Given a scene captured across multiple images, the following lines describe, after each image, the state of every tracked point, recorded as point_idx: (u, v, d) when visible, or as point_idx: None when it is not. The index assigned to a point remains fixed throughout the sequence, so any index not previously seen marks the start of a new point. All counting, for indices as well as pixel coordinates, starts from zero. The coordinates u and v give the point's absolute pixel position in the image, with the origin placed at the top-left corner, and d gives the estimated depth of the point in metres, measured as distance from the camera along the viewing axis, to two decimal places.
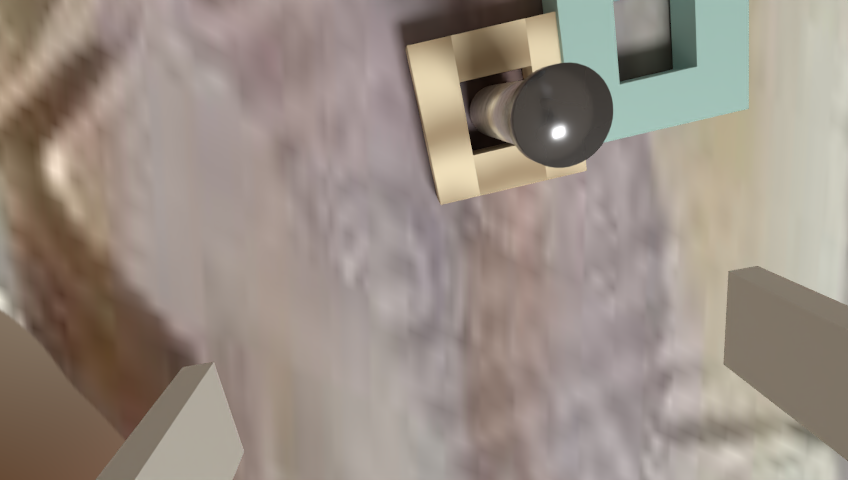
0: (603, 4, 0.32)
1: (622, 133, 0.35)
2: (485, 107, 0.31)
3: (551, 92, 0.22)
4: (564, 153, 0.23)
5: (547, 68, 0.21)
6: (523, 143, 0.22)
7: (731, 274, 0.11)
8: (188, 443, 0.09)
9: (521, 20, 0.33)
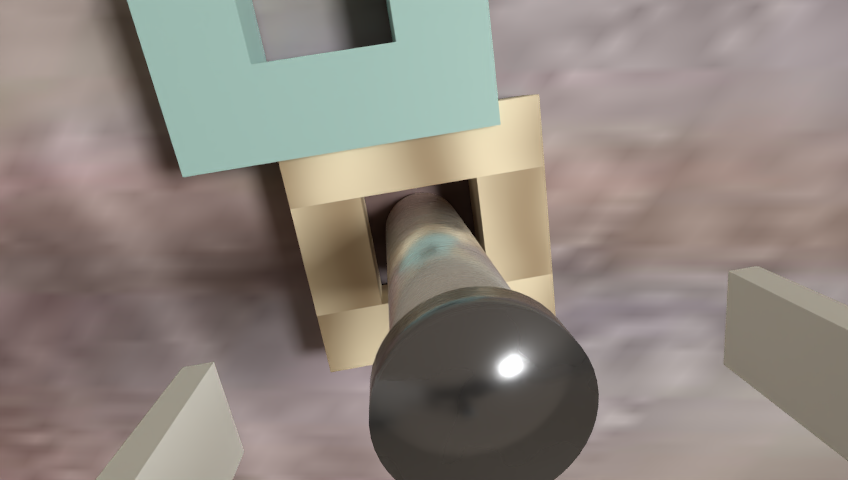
0: (262, 81, 0.19)
1: (482, 31, 0.19)
2: None
3: (431, 443, 0.10)
4: (566, 407, 0.10)
5: (380, 454, 0.10)
6: None
7: (730, 273, 0.11)
8: (188, 443, 0.09)
9: (293, 215, 0.21)
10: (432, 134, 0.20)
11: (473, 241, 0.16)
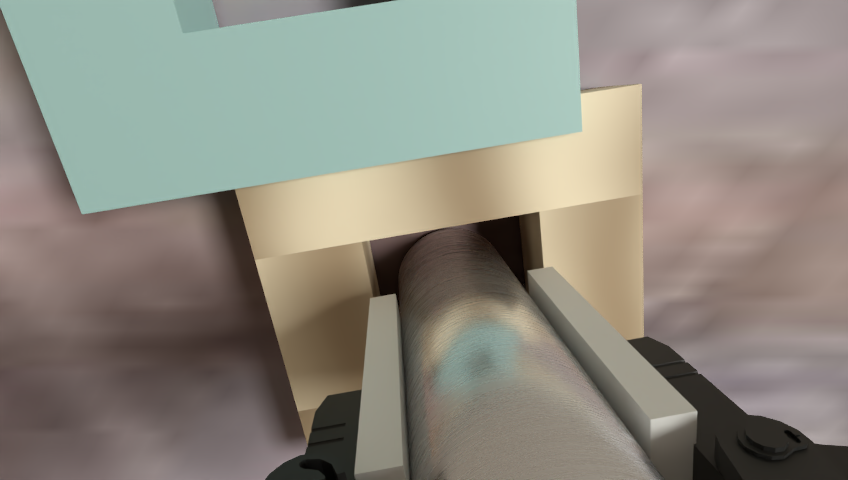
0: (203, 62, 0.11)
1: None
2: None
3: None
4: None
5: None
6: None
7: (528, 273, 0.13)
8: (401, 349, 0.11)
9: (260, 268, 0.14)
10: (475, 146, 0.13)
11: (561, 347, 0.09)
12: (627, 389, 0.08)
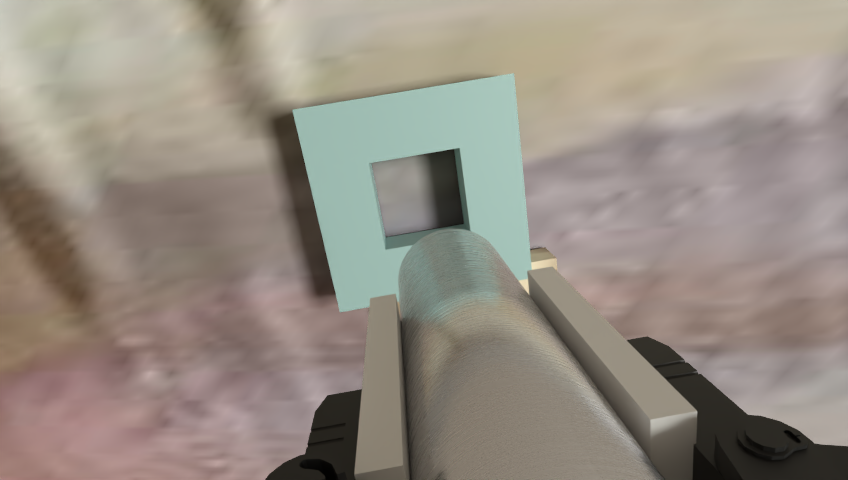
0: (391, 258, 0.31)
1: (523, 227, 0.31)
2: None
3: None
4: None
5: None
6: None
7: (528, 272, 0.13)
8: (401, 349, 0.11)
9: None
10: None
11: (561, 347, 0.09)
12: (627, 389, 0.08)
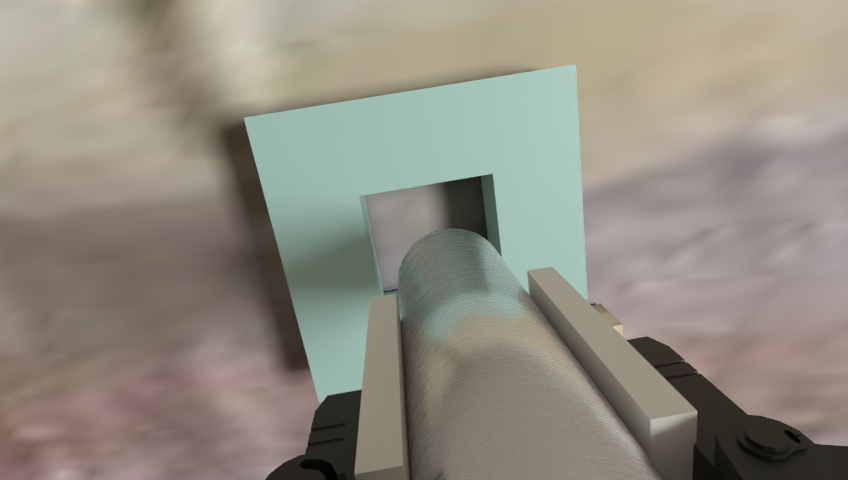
0: None
1: (579, 285, 0.22)
2: None
3: None
4: None
5: None
6: None
7: (528, 273, 0.13)
8: (401, 349, 0.11)
9: None
10: None
11: (561, 347, 0.09)
12: (627, 389, 0.08)
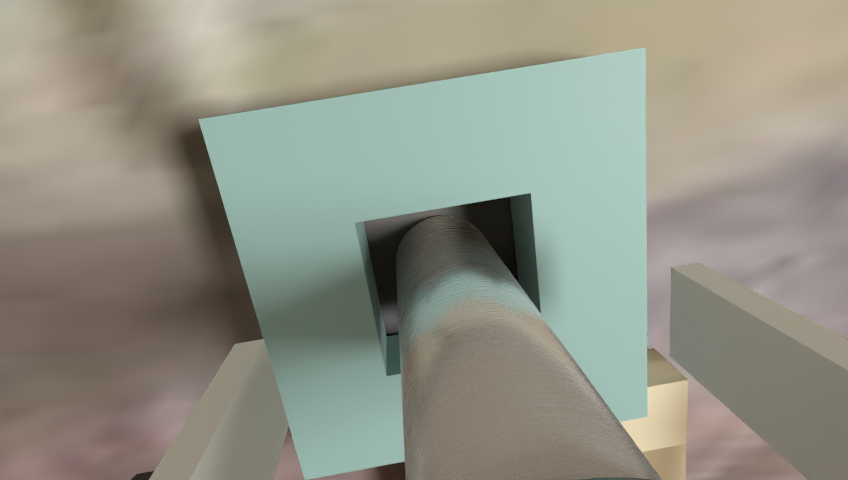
0: (397, 391, 0.17)
1: (638, 333, 0.17)
2: None
3: None
4: None
5: None
6: None
7: (672, 270, 0.12)
8: (248, 410, 0.10)
9: None
10: None
11: (528, 303, 0.11)
12: None
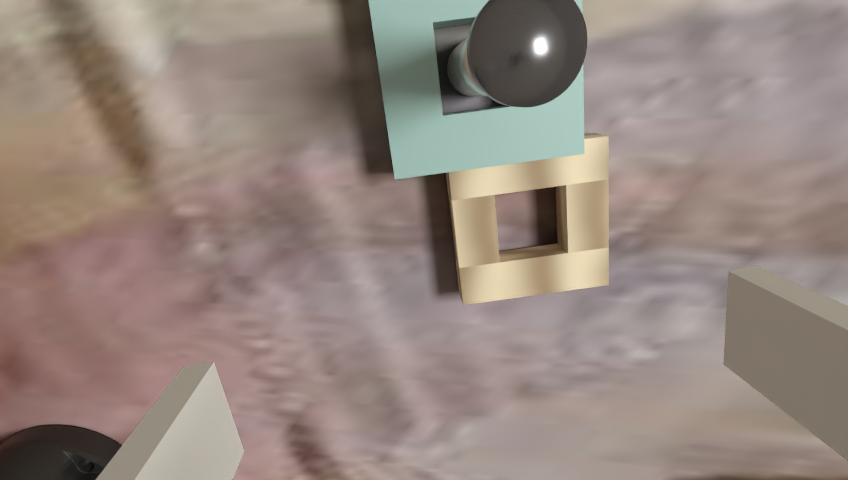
0: (448, 125, 0.32)
1: (578, 99, 0.32)
2: (478, 94, 0.29)
3: (500, 61, 0.19)
4: (570, 45, 0.19)
5: (474, 65, 0.19)
6: (549, 97, 0.20)
7: (731, 273, 0.11)
8: (188, 443, 0.09)
9: (453, 204, 0.34)
10: (543, 158, 0.33)
11: None
12: None
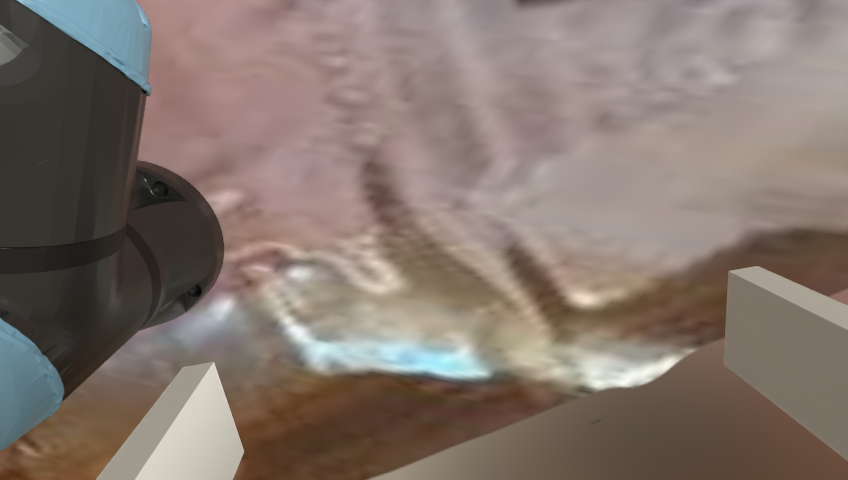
0: None
1: None
2: None
3: None
4: None
5: None
6: None
7: (730, 274, 0.11)
8: (188, 443, 0.09)
9: None
10: None
11: None
12: None
